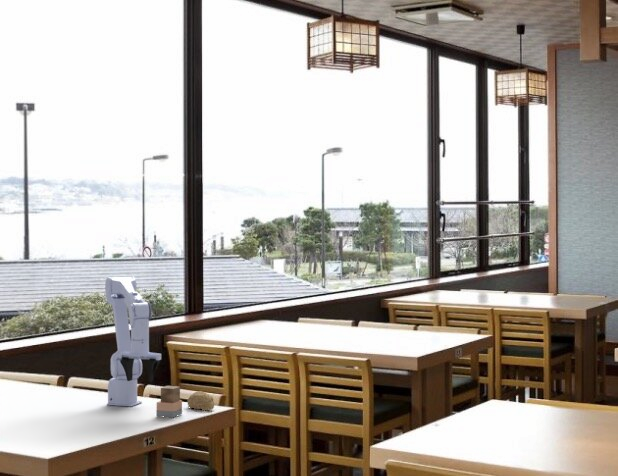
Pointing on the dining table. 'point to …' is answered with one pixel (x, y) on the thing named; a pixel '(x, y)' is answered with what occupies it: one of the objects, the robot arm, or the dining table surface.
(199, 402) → the stone tool
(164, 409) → the slab top
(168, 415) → the slab bottom
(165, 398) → the walnut block
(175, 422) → the dining table surface
